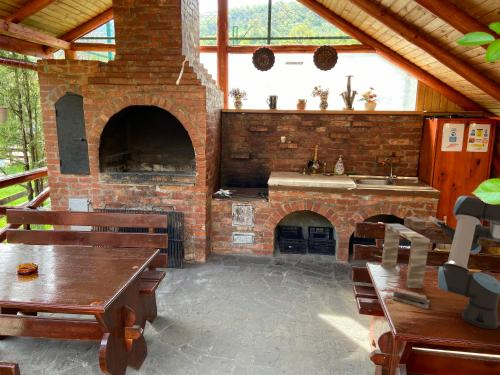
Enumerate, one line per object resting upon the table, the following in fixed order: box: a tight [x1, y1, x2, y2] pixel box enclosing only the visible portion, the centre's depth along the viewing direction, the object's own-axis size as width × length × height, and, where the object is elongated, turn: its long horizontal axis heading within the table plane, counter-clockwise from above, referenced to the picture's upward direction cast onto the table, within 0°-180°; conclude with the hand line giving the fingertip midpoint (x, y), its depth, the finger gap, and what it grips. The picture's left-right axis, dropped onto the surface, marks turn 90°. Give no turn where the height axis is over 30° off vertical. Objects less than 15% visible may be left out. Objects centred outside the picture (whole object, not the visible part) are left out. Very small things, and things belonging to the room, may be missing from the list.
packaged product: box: [391, 287, 430, 310], centre depth 190 cm, size 18×5×10 cm
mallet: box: [403, 216, 445, 231], centre depth 208 cm, size 10×22×5 cm, turn 98°
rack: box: [380, 223, 431, 289], centre depth 219 cm, size 32×10×30 cm, turn 8°
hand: (431, 218), depth 208 cm, fingers closed on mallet, 2 cm apart
